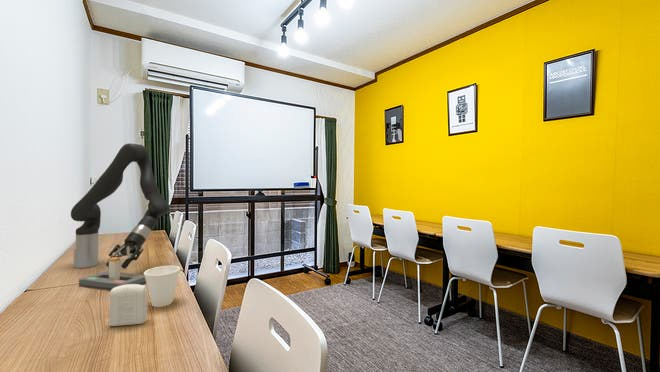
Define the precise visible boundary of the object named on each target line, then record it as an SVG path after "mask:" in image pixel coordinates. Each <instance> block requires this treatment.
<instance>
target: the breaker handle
mask: <svg viewBox="0 0 660 372" xmlns="http://www.w3.org/2000/svg"><path fill="white" fill-rule="evenodd" d="M120 258H121V257H119V258H118V257H116V256H115V257H113V258H111V257H110V258H108V261H109V267H108V271H109V279H116V280H120V273H121V271H120V270H121V261H120Z"/></svg>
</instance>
